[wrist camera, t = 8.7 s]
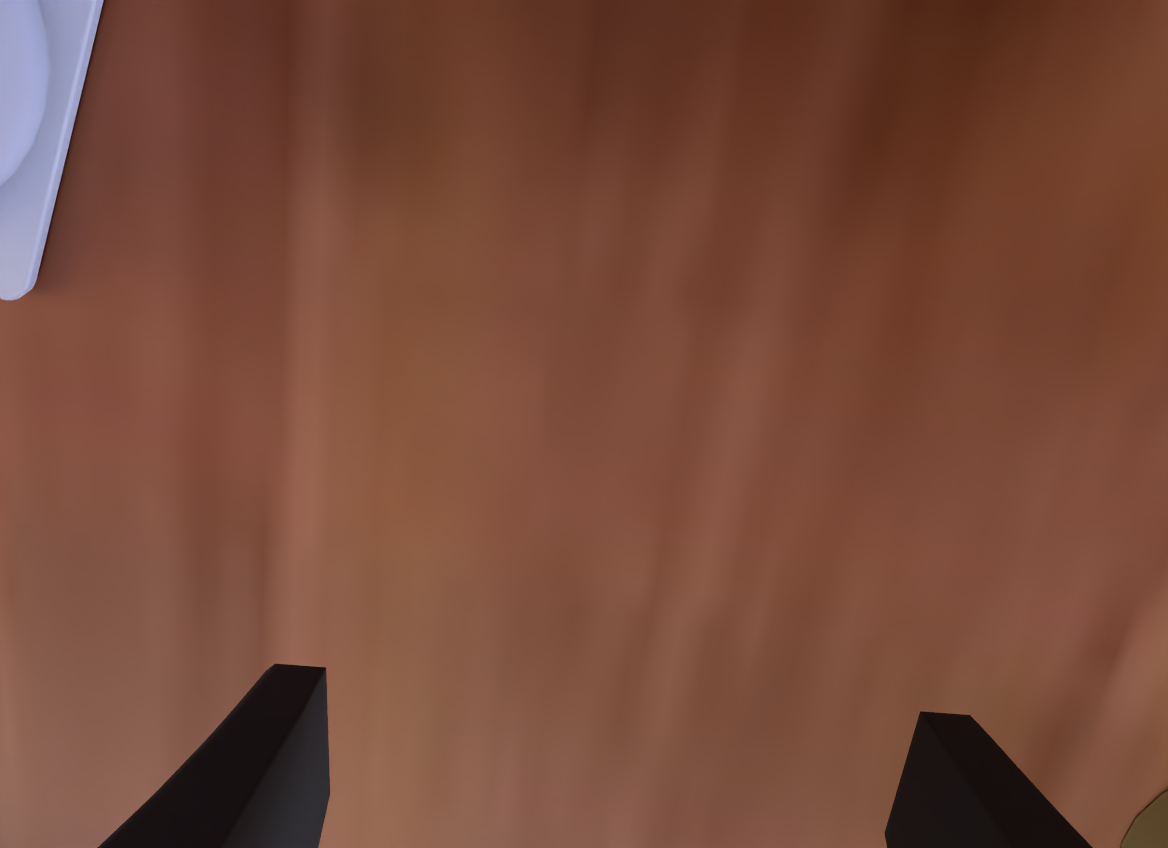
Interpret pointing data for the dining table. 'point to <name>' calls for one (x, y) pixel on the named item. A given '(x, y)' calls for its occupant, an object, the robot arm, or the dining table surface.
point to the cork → (1150, 826)
